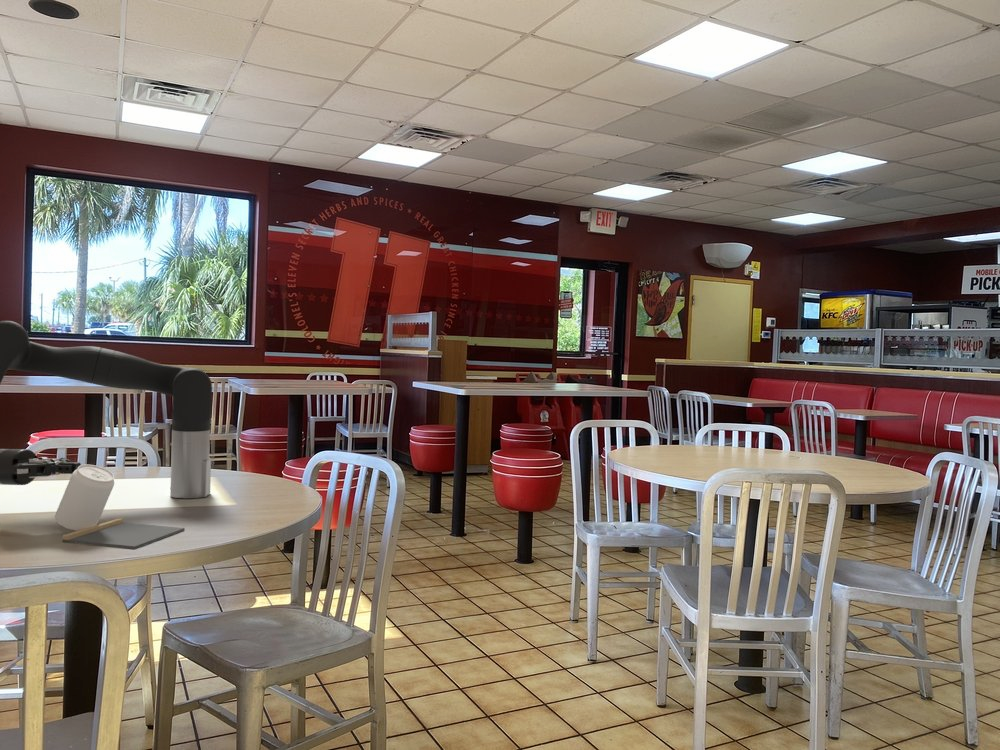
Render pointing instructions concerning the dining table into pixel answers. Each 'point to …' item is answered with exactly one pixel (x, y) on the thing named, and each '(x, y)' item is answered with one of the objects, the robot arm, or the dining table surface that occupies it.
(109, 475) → the beverage can
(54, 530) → the dining table surface
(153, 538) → the mat
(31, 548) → the dining table surface
